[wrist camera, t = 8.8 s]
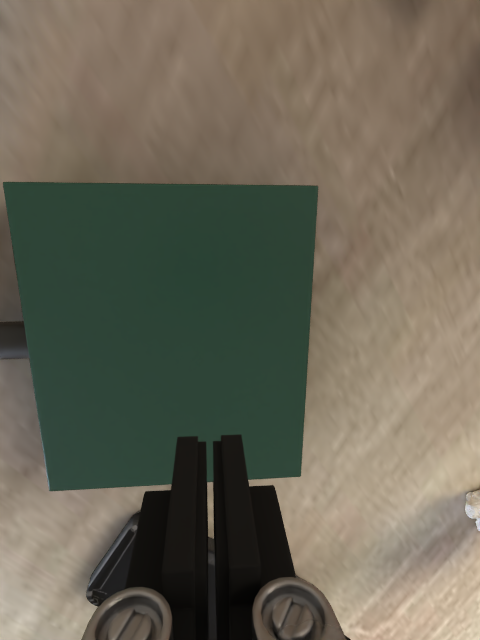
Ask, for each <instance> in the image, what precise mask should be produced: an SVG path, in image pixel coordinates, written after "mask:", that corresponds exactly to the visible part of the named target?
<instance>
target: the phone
mask: <svg viewBox="0 0 480 640" xmlns="http://www.w3.org/2000/svg"><path fill="white" fill-rule="evenodd" d="M139 517H140V512H139V513H137V514H135V515H133V517H132V518H131V519H130V520H129V521H128V523H127V524H126V526H125V527H124V529H123V530H122V532H121V533H120V535H119V536H118V537H117V539H116V540H115V542H114V543H113V545H112V546H111V548H110V549H109V550H108V552H107V553H106V555H105V556H104V558H103V559H102V561H101V562H100V563H99V565H98V566H97V568H96V569H95V571H94V572H93V574H92V576H91V578H90V581H89V585H88V588H87V592H86V597H87V599H88V601H89V602H90V603H91V604H93V605H95V606H98V607H99V606H100V605H101V604H102V603H103V602H104V601H105V600H106V599H108V598H109V597H111V596H112V595H114V594H115V593H117V592H119V591H122V590H125V586H126V581H127V576H128V571H129V566H130V561H131V556H132V551H133V546H134V541H135V536H136V532H137V527H138V522H139ZM296 578H298V579H301V578H299V577H297V576H296ZM208 616H209V640H217V632H216V592H215V552H214V539H212V538H209V537H208Z"/></svg>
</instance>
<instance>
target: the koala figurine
mask: <svg viewBox="0 0 480 640" xmlns="http://www.w3.org/2000/svg"><path fill="white" fill-rule="evenodd" d="M466 498H467V502H466V507H465V512H466V514H467V515H468V516H469V517H470V518H471V519H475V518H476V525H477V528H478V530H479V531H480V489H479V490H477V491H474V492H469V493H468V494H467V496H466Z"/></svg>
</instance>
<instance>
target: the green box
mask: <svg viewBox="0 0 480 640" xmlns="http://www.w3.org/2000/svg"><path fill="white" fill-rule="evenodd" d="M3 187H4V193H5V200H6V207H7V213H8V220H9V227H10V233H11V240H12V247H13V253H14V260H15V266H16V273H17V280H18V286H19V293H20V300H21V306H22V313H23V320H24V321H18V322H0V359H27V358H29V359H30V366H31V373H32V379H33V386H34V393H35V399H36V406H37V412H38V419H39V426H40V432H41V439H42V446H43V452H44V459H45V466H46V472H47V479H48V485H49V491H63V490H80V489H97V488H114V487H132V486H149V485H166V484H172V478H173V469H174V461H175V452H176V443H177V437H185V436H198V442H203V441H206V452H207V482H213V441H221V435H238V434H241V435H242V442H243V448H244V455H245V462H246V468H247V475H248V480H251V479H268V478H285V477H300V476H301V464H302V447H303V431H304V414H305V398H306V381H307V365H308V348H309V332H310V315H311V299H312V282H313V266H314V249H315V233H316V216H317V200H318V186H303V185H220V184H137V183H54V182H3Z"/></svg>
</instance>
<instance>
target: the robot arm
mask: <svg viewBox="0 0 480 640" xmlns="http://www.w3.org/2000/svg"><path fill="white" fill-rule="evenodd" d="M213 491H214V552H215V592H216V632H217V640H351V639H349V638H348V637H346V636H345V635H344V633H343V631H342V629H341V626H340V624H339V622H338V620H337V618H336V616H335V613H334V611H333V609H332V607H331V605H330V603H329V602H328V600H327V599H326V597H325V595H324V594H323V593H322V592H321V591H320V590H319V589H318V588H316V587H315V586H314V585H313V584H311V583H309V582H307V581H305V580H303V579H298V578H296V575H295V571H294V566H293V562H292V558H291V554H290V549H289V545H288V541H287V537H286V532H285V528H284V524H283V520H282V515H281V511H280V507H279V503H278V498H277V494H276V490H275V487H274V486H273V485H270V486H249V482H248V475H247V468H246V462H245V455H244V448H243V442H242V435H241V434H238V435H221V441H213ZM81 640H209V616H208V509H207V452H206V441H203V442H198V436H185V437H177V443H176V452H175V461H174V469H173V478H172V486H171V490H166V491H146V492H145V494H144V497H143V502H142V507H141V512H140V517H139V522H138V527H137V532H136V536H135V541H134V546H133V551H132V556H131V561H130V566H129V571H128V576H127V581H126V586H125V590H122V591H119V592H117V593H115V594H114V595H112V596H111V597H109V598H108V599H106V600H105V601H104V602H103V603H102V604H101V605H100V606H99V607H98V608H97V609H96V611H95V612H94V614H93V616H92V618H91V619H90V621H89V623H88V625H87V628H86V630H85V632H84V635H83V637H82V639H81Z"/></svg>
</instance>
